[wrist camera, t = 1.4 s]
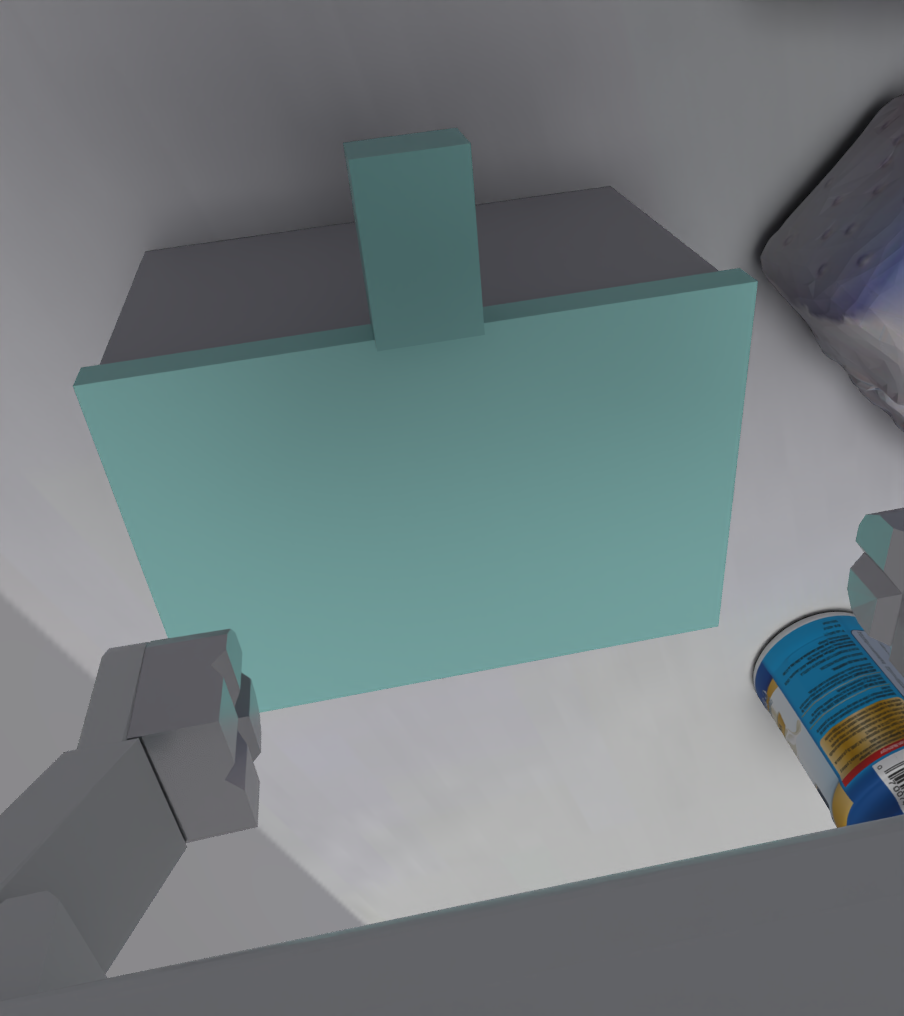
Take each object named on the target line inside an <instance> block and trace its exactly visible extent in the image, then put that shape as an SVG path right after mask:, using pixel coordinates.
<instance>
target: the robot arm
mask: <svg viewBox="0 0 904 1016" xmlns="http://www.w3.org/2000/svg"><path fill="white" fill-rule="evenodd" d="M856 542H857V543H858V545H859V546H860V547H861V549H862V550H863V551H864V553H863V554H862V556H861V557H860V558H859V559H858V560H857V561H856V562H855V564H854V565H853V566H852V567H851V568H850V574H849V581H848V588H847V590H848V595H849V600H850V605H851V609H852V611H853V613H854V615H855V617H856V619H857V621H858V623H859V625H860V626H861V627H862V628H863V630H864V631H865V632H866V633H867V635H868V636H869V637H871V638H873V639H875V640H878V641H880V642H882V643H884V644H886V645H889V646H890V655H889V661H890V662H891V663H892V665H893V666H894V667H895V668H896V669H897V670H898V672H899V673H900V674H901V675H902V676H903V678H904V508H900V509H894V510H889V511H883V512H878V513H873V514H867V515H865V517H864V518H863V520H862V521H861V523H860V524H859V528H858V532H857V537H856ZM241 669H242V650H241V647H240V644H239V641H238V639H237V636H236V633H235V632H234V631H233V630H232V629H224V630H218V631H212V632H205V633H199V634H193V635H186V636H180V637H174V638H167V639H161V640H154V641H151V642H145V643H139V644H133V645H127V646H121V647H115V648H109V649H108V650H107V652H106V653H105V654H104V655H103V656H102V658H101V662H100V666H99V669H98V673H97V677H96V680H95V684H94V688H93V692H92V695H91V699H90V703H89V706H88V710H87V714H86V717H85V721H84V725H83V728H82V732H81V736H80V739H79V743H78V747H77V750H72V751H67V752H64V753H63V754H62V755H61V756H60V757H59V758H58V759H57V760H56V761H55V762H54V763H53V764H52V765H51V766H50V767H49V768H48V769H47V770H46V771H44V772H43V773H42V774H41V775H40V777H38V778H37V779H36V780H35V781H34V782H33V783H32V784H31V785H30V786H29V787H28V788H27V789H26V790H25V791H24V792H23V793H22V794H21V795H20V796H19V797H18V798H17V799H16V800H15V801H14V802H13V803H12V804H11V805H10V806H9V807H8V808H7V809H6V810H5V811H4V812H3V813H2V814H1V815H0V1016H904V814H903V815H898V816H893V817H888V818H883V819H878V820H874V821H869V822H864V823H859V824H854V825H849V826H844V827H840V828H835V829H830V830H825V831H820V832H815V833H810V834H806V835H801V836H796V837H791V838H786V839H781V840H776V841H772V842H767V843H762V844H757V845H752V846H747V847H742V848H738V849H733V850H728V851H723V852H718V853H713V854H708V855H704V856H699V857H694V858H689V859H684V860H679V861H674V862H670V863H665V864H660V865H655V866H650V867H645V868H641V869H636V870H631V871H626V872H621V873H616V874H611V875H607V876H602V877H597V878H592V879H587V880H582V881H577V882H573V883H568V884H563V885H558V886H553V887H548V888H543V889H539V890H534V891H529V892H524V893H519V894H514V895H509V896H505V897H500V898H495V899H490V900H485V901H480V902H475V903H471V904H466V905H461V906H456V907H451V908H446V909H442V910H437V911H432V912H427V913H422V914H417V915H412V916H408V917H403V918H398V919H393V920H388V921H383V922H378V923H374V924H369V925H364V926H359V927H354V928H350V929H344V930H340V931H335V932H331V933H325V934H321V935H315V936H311V937H306V938H301V939H296V940H291V941H286V942H281V943H277V944H272V945H267V946H262V947H258V948H252V949H247V950H243V951H238V952H233V953H228V954H223V955H219V956H213V957H209V958H204V959H199V960H194V961H189V962H185V963H180V964H175V965H170V966H165V967H160V968H155V969H150V970H146V971H141V972H136V973H131V974H126V975H121V976H117V977H112V978H107V977H106V975H105V974H106V972H107V971H108V969H109V968H110V966H111V965H112V963H113V961H114V960H115V958H116V957H117V955H118V954H119V952H120V950H121V949H122V947H123V946H124V944H125V943H126V941H127V940H128V938H129V936H130V935H131V933H132V932H133V930H134V929H135V927H136V926H137V924H138V923H139V921H140V919H141V918H142V916H143V915H144V913H145V912H146V910H147V909H148V907H149V905H150V904H151V902H152V901H153V899H154V898H155V896H156V895H157V893H158V891H159V890H160V888H161V887H162V885H163V884H164V882H165V881H166V879H167V877H168V876H169V874H170V873H171V871H172V870H173V868H174V866H175V865H176V863H177V862H178V860H179V859H180V857H181V856H182V854H183V853H184V851H185V849H186V848H187V846H186V843H188V842H192V841H197V840H201V839H205V838H210V837H214V836H219V835H224V834H228V833H233V832H237V831H242V830H246V829H250V828H255V827H258V809H259V787H260V781H259V778H258V775H257V772H256V769H255V766H254V763H253V762H254V760H255V759H256V758H257V757H258V755H259V754H260V753H261V725H260V714H259V707H258V703H257V698H256V693H255V690H254V687H253V684H252V680H251V678H249V677H248V676H246V675H245V674H243V673H242V672H241Z"/></svg>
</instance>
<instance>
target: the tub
mask: <svg viewBox="0 0 904 1016" xmlns="http://www.w3.org/2000/svg"><path fill="white" fill-rule="evenodd" d="M475 209H476V223H477V236H478V250H479V263H480V277H481V290H482V304H483V307H486V306H492V305H499V304H506V303H512V302H519V301H525V300H532V299H539V298H545V297H552V296H558V295H565V294H572V293H578V292H585V291H592V290H598V289H605V288H611V287H618V286H625V285H631V284H638V283H644V282H651V281H658V280H664V279H671V278H677V277H684V276H691V275H697V274H704V273H711V272H717V271H718V270H717V269H716V268H715V267H713V266H712V265H711V264H709V263H708V262H707V261H706V260H704V259H703V258H702V257H700V256H699V255H698V254H697V253H695V252H694V251H693V250H691V249H690V248H689V247H688V246H686V245H685V244H684V243H682V242H681V241H680V240H679V239H677V238H676V237H675V236H674V235H672V234H671V233H670V232H668V231H667V230H666V229H665V228H663V227H662V226H661V225H659V224H658V223H657V222H656V221H654V220H653V219H652V218H650V217H649V216H648V215H647V214H645V213H644V212H643V211H641V210H640V209H639V208H638V207H636V206H635V205H634V204H632V203H631V202H630V201H629V200H627V199H626V198H625V197H624V196H622V195H621V194H620V193H618V192H617V191H616V190H615V189H613V188H612V187H611V186H608V187H601V188H594V189H587V190H580V191H573V192H566V193H559V194H552V195H544V196H537V197H530V198H523V199H516V200H509V201H502V202H495V203H488V204H481V205H475ZM367 324H371V322H370V316H369V309H368V303H367V296H366V290H365V283H364V277H363V270H362V264H361V257H360V251H359V244H358V238H357V231H356V224H355V222H353V223H346V224H339V225H331V226H324V227H317V228H310V229H303V230H296V231H289V232H282V233H275V234H268V235H260V236H253V237H246V238H239V239H232V240H225V241H218V242H211V243H204V244H197V245H189V246H182V247H175V248H168V249H161V250H154V251H147V252H145V254H144V256H143V258H142V261H141V263H140V266H139V268H138V271H137V273H136V276H135V278H134V281H133V283H132V286H131V288H130V291H129V293H128V296H127V298H126V301H125V303H124V306H123V308H122V311H121V313H120V316H119V318H118V320H117V323H116V325H115V328H114V330H113V333H112V335H111V338H110V340H109V343H108V345H107V348H106V350H105V353H104V355H103V358H102V360H101V363H100V365H102V364H109V363H116V362H122V361H129V360H135V359H142V358H149V357H155V356H162V355H169V354H175V353H182V352H188V351H195V350H202V349H208V348H215V347H221V346H228V345H235V344H241V343H248V342H254V341H261V340H268V339H274V338H281V337H287V336H294V335H301V334H307V333H314V332H321V331H327V330H334V329H340V328H347V327H354V326H360V325H367Z"/></svg>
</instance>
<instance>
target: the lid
mask: <svg viewBox="0 0 904 1016" xmlns="http://www.w3.org/2000/svg"><path fill="white" fill-rule="evenodd" d="M343 146H344V153H345V159H346V166H347V172H348V179H349V185H350V192H351V198H352V205H353V211H354V218H355V224H356V231H357V238H358V244H359V251H360V257H361V264H362V270H363V277H364V283H365V290H366V296H367V303H368V309H369V316H370V322H371V324H367V325H360V326H354V327H347V328H340V329H334V330H327V331H321V332H314V333H307V334H301V335H294V336H287V337H281V338H274V339H268V340H261V341H254V342H248V343H241V344H235V345H228V346H221V347H215V348H208V349H202V350H195V351H188V352H182V353H175V354H169V355H162V356H155V357H149V358H142V359H135V360H129V361H122V362H116V363H109V364H102V365H96V366H89V367H83V368H81V369H80V371H79V374H78V376H77V378H76V380H75V383H74V385H73V388H74V390H75V393H76V396H77V398H78V401H79V404H80V406H81V409H82V412H83V414H84V417H85V419H86V422H87V425H88V427H89V430H90V433H91V435H92V438H93V441H94V443H95V446H96V449H97V451H98V454H99V457H100V459H101V462H102V464H103V467H104V470H105V472H106V475H107V478H108V480H109V483H110V486H111V488H112V491H113V494H114V496H115V499H116V501H117V504H118V507H119V509H120V512H121V515H122V517H123V520H124V523H125V525H126V528H127V531H128V533H129V536H130V539H131V541H132V544H133V546H134V549H135V552H136V554H137V557H138V560H139V562H140V565H141V568H142V570H143V573H144V576H145V578H146V581H147V584H148V586H149V589H150V591H151V594H152V597H153V599H154V602H155V605H156V607H157V610H158V613H159V615H160V618H161V621H162V623H163V626H164V628H165V631H166V634H167V636H168V638H174V637H180V636H186V635H193V634H199V633H205V632H212V631H218V630H224V629H232V630H233V631H234V632H235V633H236V636H237V639H238V641H239V644H240V647H241V650H242V669H241V672H242V673H243V674H245V675H246V676H248V677H249V678H251V680H252V684H253V687H254V690H255V693H256V698H257V703H258V707H259V713H260V712H265V711H271V710H276V709H281V708H287V707H292V706H297V705H302V704H308V703H313V702H318V701H324V700H329V699H334V698H340V697H345V696H350V695H356V694H361V693H366V692H372V691H377V690H382V689H388V688H393V687H398V686H403V685H409V684H414V683H419V682H425V681H430V680H435V679H441V678H446V677H451V676H457V675H462V674H467V673H473V672H478V671H483V670H488V669H494V668H499V667H504V666H510V665H515V664H520V663H526V662H531V661H536V660H542V659H547V658H552V657H558V656H563V655H568V654H573V653H579V652H584V651H589V650H595V649H600V648H605V647H611V646H616V645H621V644H627V643H632V642H637V641H643V640H648V639H653V638H659V637H664V636H669V635H674V634H680V633H685V632H690V631H696V630H701V629H706V628H712V627H717V626H718V624H719V615H720V607H721V598H722V589H723V580H724V572H725V563H726V554H727V546H728V537H729V528H730V519H731V511H732V502H733V493H734V484H735V476H736V467H737V458H738V450H739V441H740V432H741V423H742V415H743V406H744V397H745V388H746V380H747V371H748V362H749V353H750V345H751V336H752V327H753V319H754V310H755V301H756V292H757V284H758V281H757V280H755V279H754V278H753V277H751V276H750V275H748V274H747V273H746V272H744V271H743V270H742V269H740V268H737V269H730V270H724V271H717V272H711V273H704V274H697V275H691V276H684V277H677V278H671V279H664V280H658V281H651V282H644V283H638V284H631V285H625V286H618V287H611V288H605V289H598V290H592V291H585V292H578V293H572V294H565V295H558V296H552V297H545V298H539V299H532V300H525V301H519V302H512V303H506V304H499V305H492V306H486V307H483V304H482V290H481V277H480V263H479V250H478V236H477V223H476V209H475V195H474V182H473V168H472V155H471V143H470V142H469V141H468V140H467V139H466V138H465V136H464V135H463V134H462V133H461V132H460V131H459V130H458V129H457V128H450V129H443V130H435V131H428V132H420V133H413V134H405V135H398V136H390V137H383V138H375V139H368V140H360V141H352V142H345V143H343Z"/></svg>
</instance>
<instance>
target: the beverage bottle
mask: <svg viewBox="0 0 904 1016" xmlns="http://www.w3.org/2000/svg"><path fill="white" fill-rule="evenodd" d="M889 655H890V646H889V645H886V644H884V643H882V642H880V641H878V640H875V639H873V638H871V637H869V636H868V635H867V633H866V632H865V631H864V630H863V628H862V627H861V626H860V625H859V623H858V621H857V619H856V617H855V615H854V614H851V613H846V612H827V613H821V614H817V615H813V616H810V617H807V618H805V619H802V620H800V621H798V622H796V623H794V624H792V625H791V626H789V627H788V628H786V629H785V630H783V631H782V632H780V633H779V634H778V635H777V636H776V637H775V638H774V639H772V640H771V641H770V643H769V644H768V645H767V646H766V647H765V649H764V650H763V651H762V653H761V655H760V656H759V658H758V660H757V663H756V665H755V669H754V675H753V682H754V687H755V691H756V693H757V695H758V697H759V698H760V700H761V702H762V703H763V705H764V706H765V708H766V709H767V710H768V711H769V712H770V714H771V716H772V717H773V719H774V721H775V722H776V724H777V725H778V727H779V729H780V730H781V732H782V733H783V735H784V737H785V738H786V740H787V742H788V743H789V745H790V746H791V748H792V750H793V751H794V753H795V755H796V756H797V758H798V760H799V761H800V763H801V764H802V766H803V768H804V769H805V771H806V773H807V774H808V776H809V777H810V779H811V781H812V782H813V784H814V786H815V787H816V789H817V791H818V792H819V794H820V795H821V797H822V799H823V800H824V802H825V804H826V805H827V807H828V808H829V810H830V813H831V817H832V819H833V822H834V824H835V825H836V827H837V828H840V827H844V826H849V825H854V824H859V823H864V822H869V821H874V820H878V819H883V818H888V817H893V816H898V815H903V814H904V678H903V676H902V675H901V674H900V673H899V672H898V670H897V669H896V668H895V667H894V666H893V665H892V663H891V662H890V661H889Z"/></svg>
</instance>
